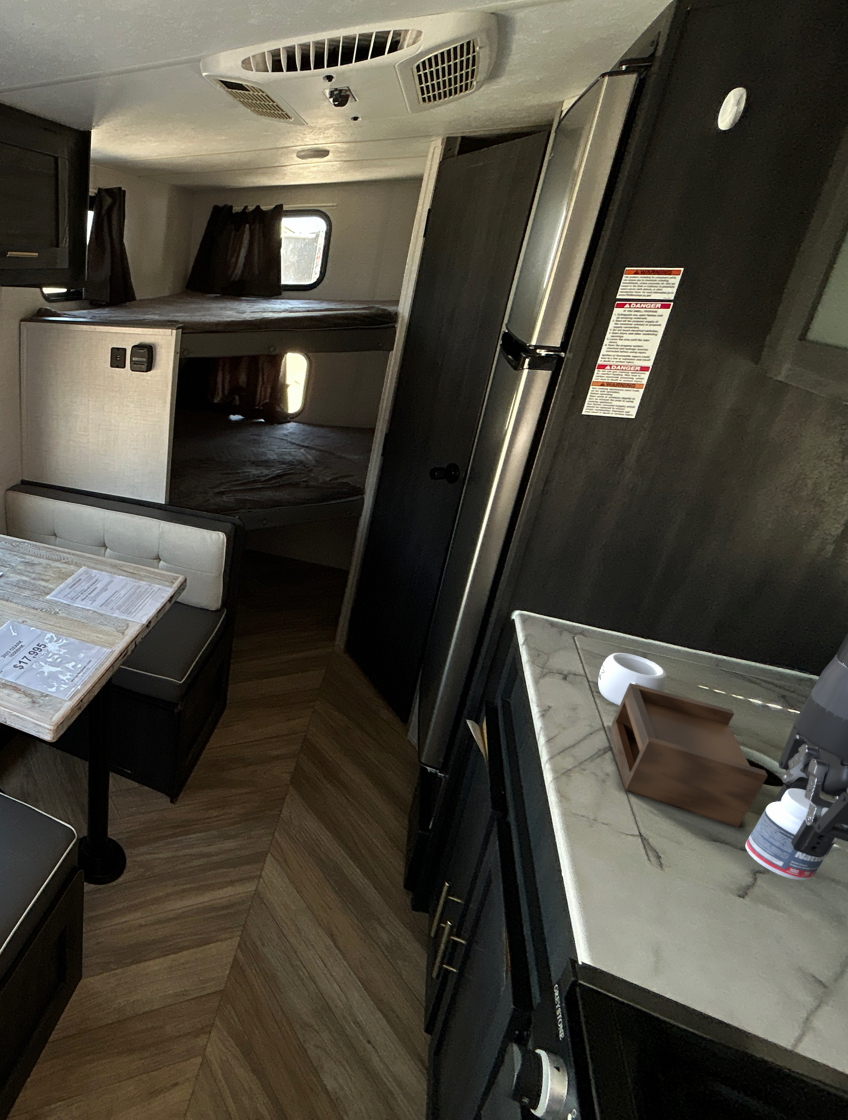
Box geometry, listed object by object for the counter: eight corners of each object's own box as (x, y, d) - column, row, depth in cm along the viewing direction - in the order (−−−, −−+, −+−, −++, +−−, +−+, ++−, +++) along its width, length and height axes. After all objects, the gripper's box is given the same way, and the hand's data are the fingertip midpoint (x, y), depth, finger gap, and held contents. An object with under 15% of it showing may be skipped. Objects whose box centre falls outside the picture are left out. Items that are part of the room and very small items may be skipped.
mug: (592, 680, 119) (606, 644, 116) (652, 699, 114) (669, 662, 111) (590, 712, 110) (605, 675, 107) (654, 734, 105) (672, 695, 102)
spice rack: (705, 760, 100) (731, 709, 96) (736, 831, 87) (767, 776, 83) (608, 731, 106) (629, 682, 102) (624, 793, 93) (648, 740, 89)
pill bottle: (787, 885, 68) (824, 825, 65) (731, 845, 73) (763, 787, 70) (826, 878, 69) (865, 818, 66) (768, 838, 74) (802, 780, 71)
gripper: (969, 768, 56) (876, 900, 62) (889, 683, 67) (817, 803, 73) (844, 736, 59) (769, 864, 66) (788, 661, 71) (728, 777, 77)
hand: (794, 831), depth 69 cm, fingers closed on pill bottle, 5 cm apart
